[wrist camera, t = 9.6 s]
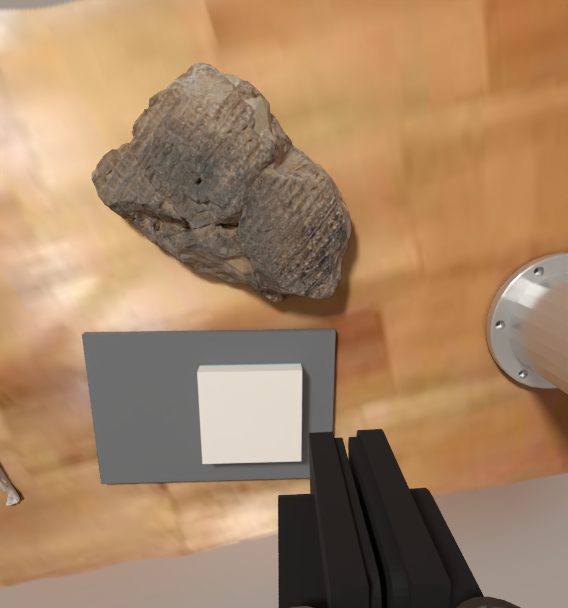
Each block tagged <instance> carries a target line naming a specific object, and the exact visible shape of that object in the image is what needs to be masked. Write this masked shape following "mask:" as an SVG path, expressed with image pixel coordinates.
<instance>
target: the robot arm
mask: <svg viewBox="0 0 568 608" xmlns="http://www.w3.org/2000/svg"><path fill="white" fill-rule="evenodd" d="M534 270H535V271H534ZM496 323H497V324H496ZM486 338H487V343H488V347H489V350H490V353H491V355H492V357H493V359H494V361H495V362H496V363H497V364H498V366H499V367H500V368H501V369H502V370H503V371H504V372H505V373H507V374H508V375H509V376H510V377H512V378H513V379H515V380H516V381H518V382H520V383H522V384H525V385H528V386H530V387H535V388H541V389H554V388H559V389H560V390H562V391H563V392H565V393H566V394H568V252H559V253H554V254H549V255H545V256H542V257H540V258H537V259H535V260H532V261H531V262H529V263H527V264H526V265H524V266H522V267H521V268H519V269H518V270H517V271H516V272H515V273H514V274H512V275H511V276H510V277H509V278H508V279H507V280H506V282H505V283H504V284H503V285H502V286H501V288H500V289H499V291H498V293H497V294H496V296H495V298H494V299H493V302H492V304H491V307H490V310H489V312H488V318H487V323H486ZM348 449H349V461H348V457H347V453H346V450H345V446H344V442H343V439H342V438H334V436H333V432H314V433H309V465H310V493H311V494H297V495H278V539H279V541H278V545H279V546H278V547H279V548H278V550H279V608H520V607H518V606H516V605H514V604H511V603H509V602H507V601H505V600H501V599H496V598H492V597H484V596H483V594H482V592H481V590H480V588H479V586H478V584H477V582H476V581H475V578H474V576H473V574H472V572H471V571H470V569H469V567H468V565H467V563H466V561H465V559H464V557H463V555H462V553H461V551H460V549H459V547H458V545H457V543H456V541H455V539H454V537H453V536H452V534H451V532H450V530H449V528H448V526H447V524H446V522H445V520H444V518H443V516H442V514H441V512H440V510H439V508H438V506H437V504H436V502H435V501H434V498H433V496H432V495H431V493H430V492H429V490H428V489H426V488H415V489H409V488H408V485H407V483H406V481H405V479H404V476H403V474H402V472H401V470H400V468H399V465H398V463H397V461H396V459H395V456H394V454H393V452H392V450H391V447H390V445H389V443H388V441H387V438H386V436H385V434H384V432H383V430H382V429H374V430H358V431H357V437H349V442H348Z"/></svg>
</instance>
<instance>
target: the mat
mask: <svg viewBox="0 0 568 608" xmlns="http://www.w3.org/2000/svg"><path fill="white" fill-rule="evenodd" d="M335 336H336V331H335V329H284V330H216V331H147V332H85V333H83V334H82V339H83V347H84V354H85V362H86V370H87V378H88V385H89V393H90V401H91V409H92V416H93V424H94V432H95V440H96V447H97V455H98V463H99V471H100V478H101V484H118V483H152V482H186V481H220V480H254V479H288V478H310V465H309V433H314V432H332V430H333V398H334V367H335ZM279 363H301V367H302V442H301V461H295V462H259V463H222V464H202V448H201V431H200V413H199V396H198V379H197V371H198V369H199V366H200V365H223V364H279Z"/></svg>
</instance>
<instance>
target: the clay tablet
mask: <svg viewBox="0 0 568 608" xmlns="http://www.w3.org/2000/svg"><path fill="white" fill-rule="evenodd" d="M132 134H133V139H132V141H131V143H130V144H129V143H126V144H123V145H122V146H121V147H119V148H118V149H117V150H114V149H112V150H111V151H110V152H108V153H107V154H105V155H104V156H103V158H102V159H101V160H100V162H99V163H98V164H97V168H96V169H95V170H94V171H93V173H92V181H93V183H94V185H95V187H96V190H97V193H98V196H99V197H100V199H101V200H102V201H103V203H104V204H105V205H106V206H108V207H109V208H110V209H111V210H112V211H114V212H115V213H117V214H118V215H120V216H121V217H122V218H133V220H131V221H130V222H131V223H133V224H134V225H135V226H136V227H138V228H139V229H140V230H141V231H142V232H143V233H144V234H145V236H146V237H147V238H148V239H149V240H150V242H152V243H155V244H157V245H160V246H161V247H162V248H164V249H165V250H167V251H168V252H170V253H171V254H172V255H173V256H174V257H176V259H177V260H179V261H182V262H184V263H185V264H188V263H189V264H190V265H192V267H193V268H194V269H195V270H196V271H198V272H199V273H200V274H209V275H214V276H216V277H218V278H220V279H222V280H224V281H227V282H230V283H244V284H247V285H249V286H251V287H252V288H253V289H254V290H255V291H256V292H258V293H260V294H261V295H262V296H264V297H265V298H266V299H268V300H269V301H272V302H279V301H282V300H284V299H286V298H289V297H291V296H292V295H293V294H295V295H297V296H299V297H301V296H305V297H307V298H315V299H324V298H327V297H331V296H332V295H333V294H334V293H335V291H336V289H337V285H338V283H339V282H340V280H341V273H342V269H341V263H342V259H343V256H344V254H345V253H346V251H347V250H348V246H347V244H348V241H349V239H350V234H351V230H352V228H351V222H350V215H349V210H348V209H347V207H346V206H345V204H344V203H343V202H342V200H341V197H342V195H341V193H340V192H339V190H338V188H337V186H336V184H335V183H334V181H333V180H332V178H331V177H330V176H329V175H328V174H327V172H326V171H325V170H324V169H323V168H322V167H321V166H320V165H318V164H315V163H314V162H313V161H312V160H311V159H310V158H308V157H307V156H306V155H305V154H304V153H303V152H302V151H300V150H299V149H297V148H295V147H294V146H293V145H292V142H291V140H290V139H289V137H288V136H287V135H286V134H285V133H284V131H283V130H282V128H281V126H280V124H279V122H278V121H277V119H276V118H275V116H274V115H272V114H271V113H270V106H269V102H268V101H267V100H266V99H265V98H264V96H263V95H262V94H261V93H260V92H259V91H258V90H257V89H256V88H255V87H254V86H253V85H252V84H250V83H249V82H248V81H243V80H241V79H240V78H238V77H236V76H234V75H229V74H223V73H220V72H219V71H218V70H217V69H216V68H214V67H213V66H211V65H210V64H205V63H196V64H194V65H193V66H191V67H190V68H189V69H188V71H187V72H186V73H184V74H182V75H181V76H179V77H178V78H177V79H176V80H175V81H174V82H172V83H171V84H170V85H169V86H168V87H167V88H166V89H165V90H163V91H161V92H159V93H157V94H156V95H154V96H153V97H151V98H150V99H149V108H148V109H145V110H144V112H143V113H142V114H141V115H140V116H139V118H138V119H137V120H136V122H135V124H134V126H133V131H132Z"/></svg>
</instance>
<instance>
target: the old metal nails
mask: <svg viewBox="0 0 568 608" xmlns="http://www.w3.org/2000/svg"><path fill="white" fill-rule="evenodd" d="M3 481H4V482H3ZM0 486H1V487H2V489H3V491H4V492H6V493H8V501H7V503H6V505H7V506H8V505H12V504H14V503H15V504H16V503H18V502H19V501H20V497H19V495H18V494H17V492H16V490H15V489H14V487H13V486H12V484H11V483H10V481H9V480H8V479H7V477H6V475H5V473H4V472H3V470H2V469H1V467H0Z"/></svg>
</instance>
